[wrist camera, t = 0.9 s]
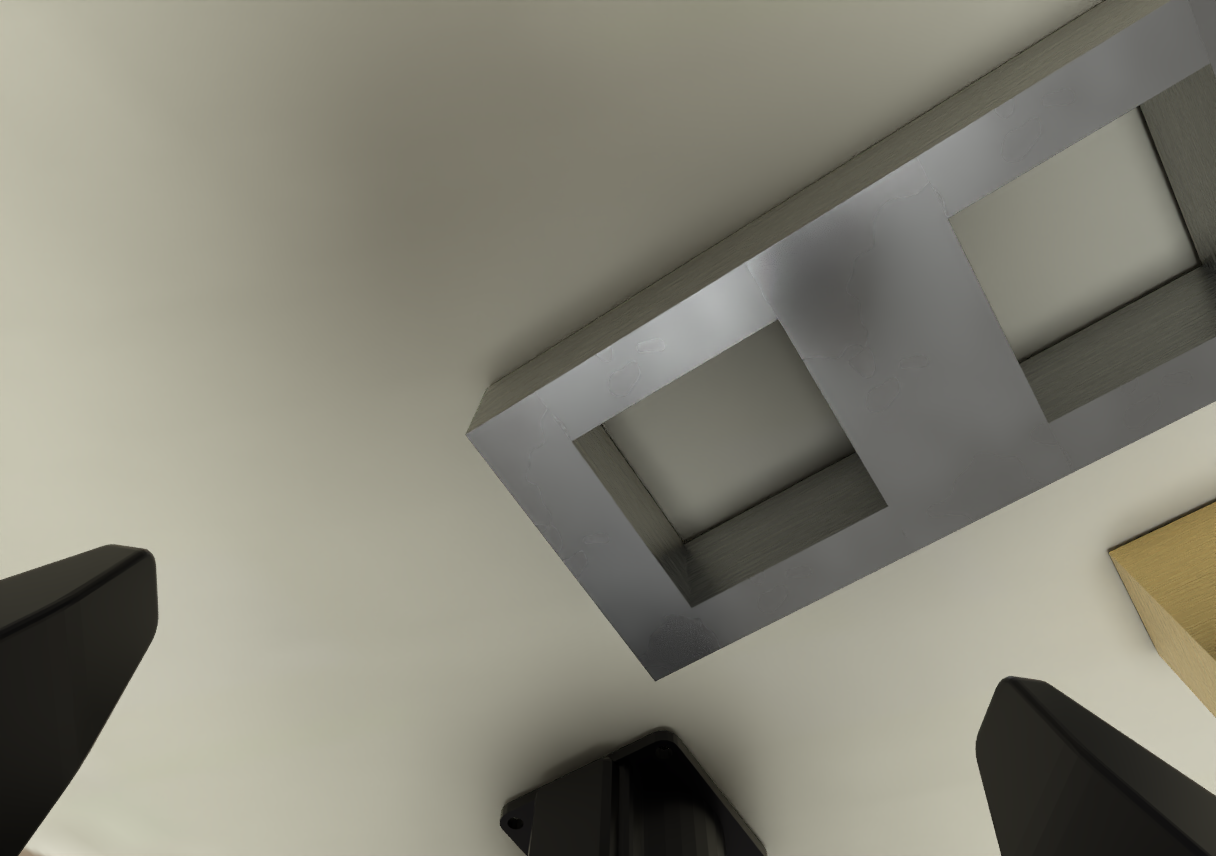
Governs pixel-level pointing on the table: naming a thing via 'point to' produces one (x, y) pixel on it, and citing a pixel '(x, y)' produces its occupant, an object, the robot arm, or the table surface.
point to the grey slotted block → (879, 350)
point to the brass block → (1178, 595)
